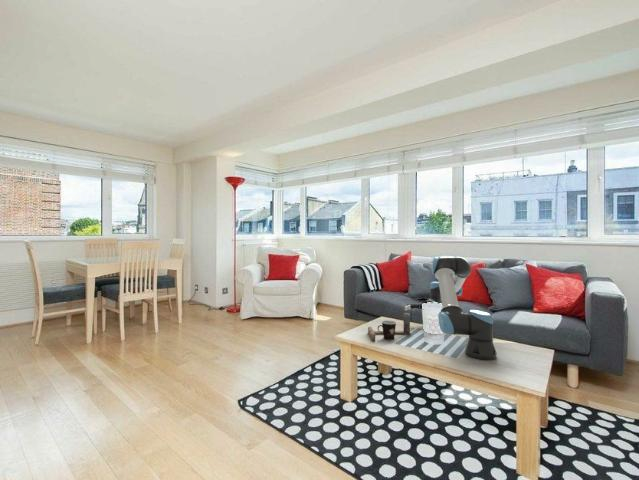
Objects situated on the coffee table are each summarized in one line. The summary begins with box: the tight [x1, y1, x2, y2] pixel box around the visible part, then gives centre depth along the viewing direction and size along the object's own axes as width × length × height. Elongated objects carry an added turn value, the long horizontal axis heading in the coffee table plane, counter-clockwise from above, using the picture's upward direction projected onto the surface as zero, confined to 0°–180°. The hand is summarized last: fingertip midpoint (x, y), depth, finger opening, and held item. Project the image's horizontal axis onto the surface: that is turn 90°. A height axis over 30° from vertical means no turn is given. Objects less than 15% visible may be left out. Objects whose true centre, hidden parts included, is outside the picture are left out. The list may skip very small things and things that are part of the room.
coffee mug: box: [377, 320, 397, 341], centre depth 202 cm, size 12×9×10 cm
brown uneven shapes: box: [367, 312, 411, 342], centre depth 205 cm, size 17×27×13 cm, turn 90°
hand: (414, 310), depth 218 cm, fingers open, 13 cm apart
